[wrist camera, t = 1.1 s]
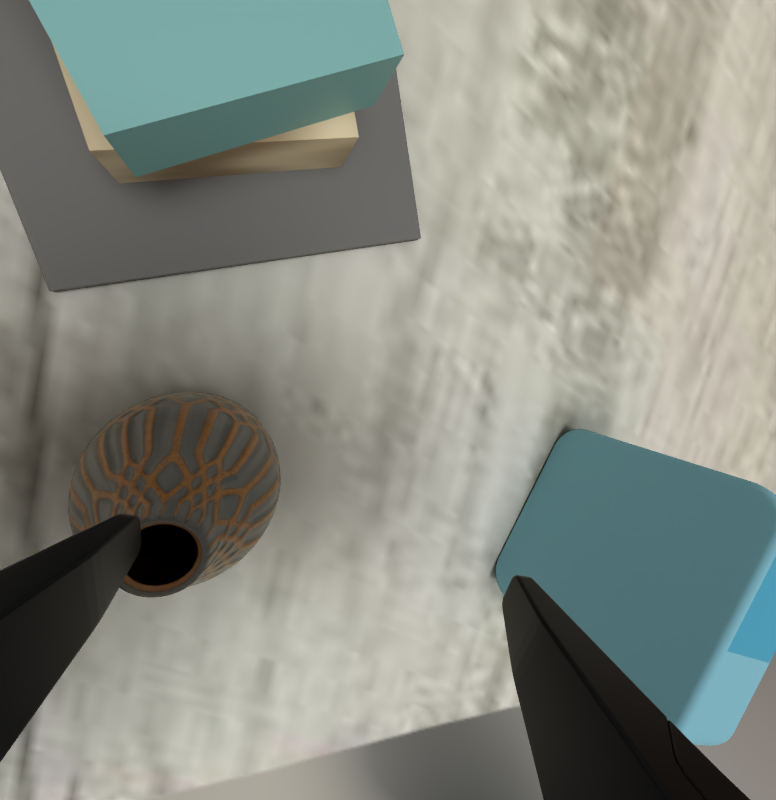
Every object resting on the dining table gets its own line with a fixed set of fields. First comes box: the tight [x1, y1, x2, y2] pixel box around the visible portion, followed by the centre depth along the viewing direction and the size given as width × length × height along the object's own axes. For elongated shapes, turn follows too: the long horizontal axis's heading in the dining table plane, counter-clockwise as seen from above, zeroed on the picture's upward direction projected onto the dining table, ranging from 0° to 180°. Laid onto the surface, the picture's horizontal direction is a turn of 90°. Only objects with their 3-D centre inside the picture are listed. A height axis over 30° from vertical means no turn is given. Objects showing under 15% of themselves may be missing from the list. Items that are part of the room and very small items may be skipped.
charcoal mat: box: [0, 0, 421, 292], centre depth 15 cm, size 16×16×1 cm
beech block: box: [52, 43, 359, 183], centre depth 13 cm, size 9×9×3 cm
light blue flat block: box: [496, 429, 776, 745], centre depth 21 cm, size 12×4×12 cm, turn 152°
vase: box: [68, 392, 280, 597], centre depth 14 cm, size 7×7×9 cm
